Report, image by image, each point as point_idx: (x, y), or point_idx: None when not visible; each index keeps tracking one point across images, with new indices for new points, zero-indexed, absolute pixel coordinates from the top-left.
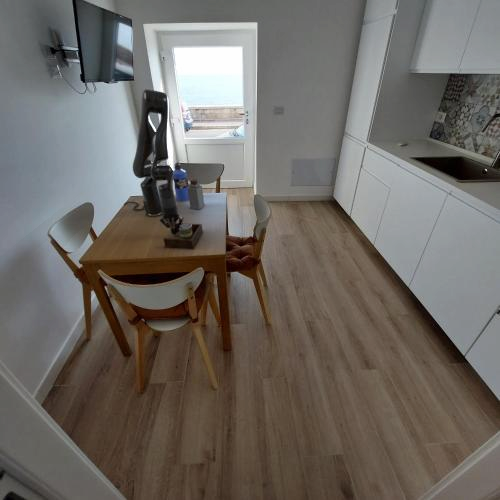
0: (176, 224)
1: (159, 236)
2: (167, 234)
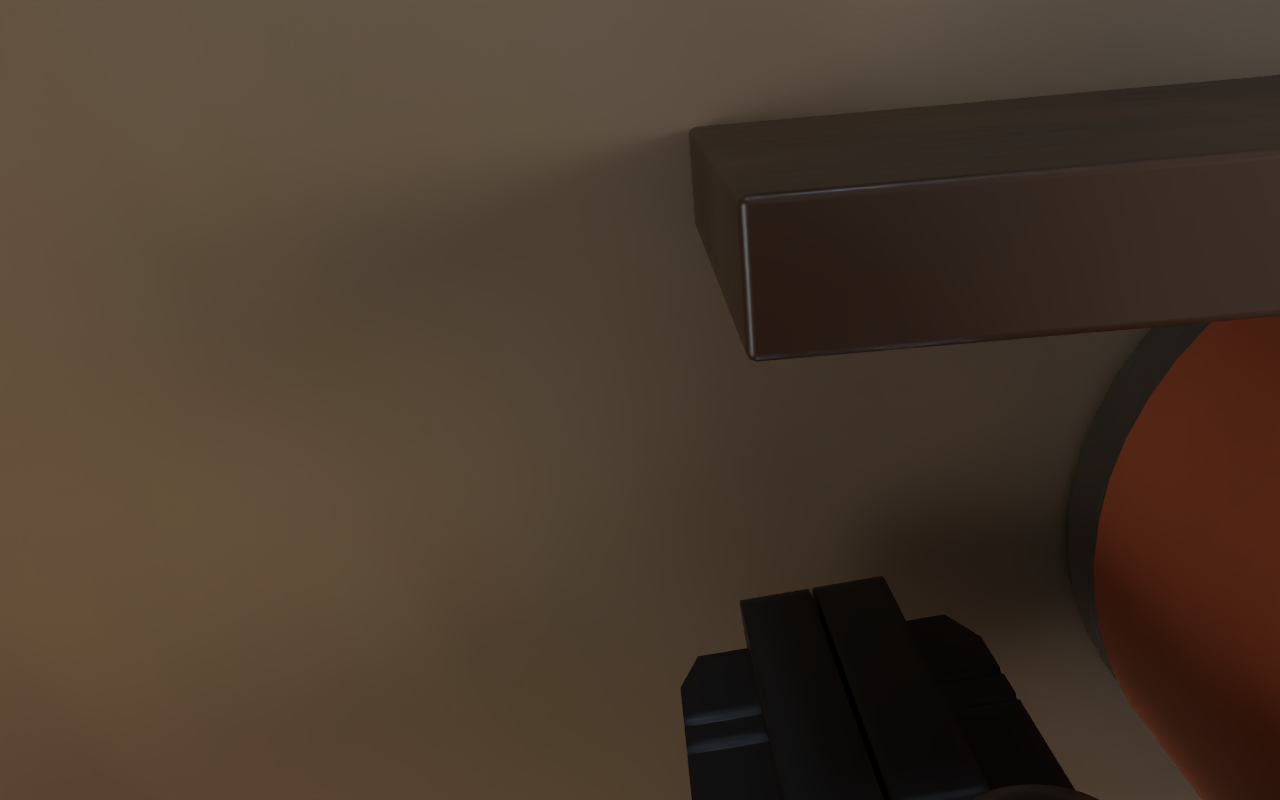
0: (871, 332)
1: (95, 781)
2: (363, 565)
